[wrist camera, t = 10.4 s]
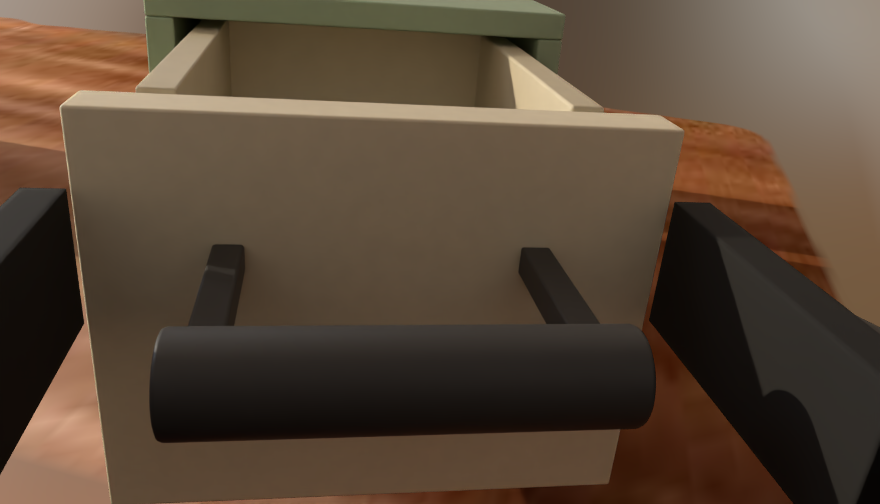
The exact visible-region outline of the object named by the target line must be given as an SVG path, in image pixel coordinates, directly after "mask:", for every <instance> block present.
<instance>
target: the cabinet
mask: <svg viewBox="0 0 880 504" xmlns="http://www.w3.org/2000/svg"><path fill="white" fill-rule="evenodd" d="M144 12H145V15H147V16H146V17H145V25H146V38H147V50H148V63H149V73H150V72H151V71H152V70H153V69H154V68H155V67H156V66H157V65H158V64H159V63H160V62H161V61H162V60H163V59H164V58H165V57H166V56H167V55H168V54H169V53H170V52H171V51H172V50H173V49H174V48H175V47H176V46H177V45H178V44H179V43H180V42H181V41H182V40H183V39H184V38H185V37H186V36H187V35H188V34H189V33H190V32H191V31H192V30H193V29H194V28H195V27H196V26H197V25H198V24H199V23H200V22H201V21H202V20H203V19H210V20H227V21H244V22H261V23H278V24H294V25H311V26H328V27H345V28H362V29H379V30H396V31H413V32H429V33H446V34H463V35H480V36H497V37H505V38H506V39H508V40H509V41H510V42H512V43H513V44H515V45H516V46H517V47H519V48H520V49H522V50H523V51H524V52H526V53H527V54H529V55H530V56H531V57H533V58H534V59H536V60H537V61H539V62H540V63H541V64H543V65H544V66H546V67H547V68H548V69H550V70H551V71H553V72H554V73H555V74H557V73H558V66H559V58H560V51H561V44H562V42H561V41H560V40H561V39H562V37H563V30H564V22H565V15H564V14H562V13H560V12H558V11H556V10H553V9H551V8H549V7H547V6H544V5H542V4H540V3H537V2H535V1H533V0H144Z"/></svg>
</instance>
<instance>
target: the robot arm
mask: <svg viewBox="0 0 880 504" xmlns="http://www.w3.org/2000/svg"><path fill="white" fill-rule="evenodd" d="M649 321H650V322H651V323H652V325H653V326H654V327H655V328H656V330H657V331H658V332H659V333H660V335H661V336H662V337H663V339H664V340H665V341H666V342H667V344H668V345H669V346H670V347H671V349H672V350H673V351H674V352H675V354H676V355H677V356H678V358H679V359H680V360H681V361H682V363H683V364H684V365H685V366H686V368H687V369H688V370H689V372H690V373H691V374H692V375H693V377H694V378H695V379H696V380H697V382H698V383H699V384H700V385H701V387H702V388H703V389H704V391H705V392H706V393H707V394H708V396H709V397H710V398H711V399H712V401H713V402H714V403H715V405H716V406H717V407H718V408H719V410H720V411H721V412H722V413H723V415H724V416H725V417H726V419H727V420H728V421H729V422H730V424H731V425H732V426H733V427H734V429H735V430H736V431H737V432H738V434H739V435H740V436H741V438H742V439H743V440H744V441H745V443H746V444H747V445H748V446H749V448H750V449H751V450H752V452H753V453H754V454H755V455H756V457H757V458H758V459H759V460H760V462H761V463H762V464H763V466H764V467H765V468H766V469H767V471H768V472H769V473H770V474H771V476H772V477H773V478H774V479H775V481H776V482H777V483H778V485H779V486H780V487H781V488H782V490H783V491H784V492H785V493H786V495H787V496H788V497H789V499H790V500H791V501H792V502H793V504H880V327H878V326H876V325H874V324H872V323H870V322H868V321H866V320H864V319H862V318H860V317H858V316H856V315H854V314H853V313H852V312H851V311H849V310H848V309H847V308H845V307H844V306H843V305H842V304H840V303H839V302H838V301H836V300H835V299H834V298H833V297H831V296H830V295H829V294H827V293H826V292H825V291H823V290H822V289H821V288H820V287H818V286H817V285H816V284H814V283H813V282H812V281H810V280H809V279H808V278H807V277H805V276H804V275H803V274H801V273H800V272H799V271H798V270H796V269H795V268H794V267H792V266H791V265H790V264H788V263H787V262H786V261H785V260H783V259H782V258H781V257H779V256H778V255H777V254H775V253H774V252H773V251H772V250H770V249H769V248H768V247H766V246H765V245H764V244H762V243H761V242H760V241H759V240H757V239H756V238H755V237H753V236H752V235H751V234H750V233H748V232H747V231H746V230H744V229H743V228H742V227H740V226H739V225H738V224H737V223H735V222H734V221H733V220H731V219H730V218H729V217H727V216H726V215H725V214H724V213H722V212H721V211H720V210H718V209H717V208H716V207H715V206H713V205H712V204H711V203H695V202H675V203H674V208H673V213H672V217H671V222H670V226H669V231H668V236H667V240H666V245H665V249H664V254H663V258H662V263H661V268H660V272H659V277H658V281H657V286H656V291H655V295H654V300H653V304H652V309H651V314H650V318H649ZM83 324H84V319H83V311H82V304H81V296H80V289H79V281H78V274H77V266H76V259H75V251H74V244H73V237H72V229H71V222H70V214H69V207H68V199H67V192H66V189H52V188H19V189H18V190H17V191H16V192H15V193H14V194H13V195H12V196H11V197H10V198H9V199H8V200H7V201H6V202H5V203H3V204H2V205H1V206H0V474H1V472H2V470H3V469H4V466H5V465H6V463H7V461H8V460H9V458H10V456H11V454H12V452H13V451H14V449H15V447H16V445H17V443H18V442H19V440H20V438H21V436H22V434H23V433H24V431H25V429H26V427H27V425H28V423H29V422H30V420H31V418H32V416H33V414H34V413H35V411H36V409H37V407H38V405H39V404H40V402H41V400H42V398H43V396H44V395H45V393H46V391H47V389H48V387H49V386H50V384H51V382H52V380H53V378H54V377H55V375H56V373H57V371H58V369H59V368H60V366H61V364H62V362H63V360H64V359H65V357H66V355H67V353H68V351H69V350H70V348H71V346H72V344H73V342H74V341H75V339H76V337H77V335H78V333H79V332H80V330H81V328H82V326H83Z"/></svg>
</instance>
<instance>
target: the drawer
mask: <svg viewBox="0 0 880 504" xmlns="http://www.w3.org/2000/svg"><path fill="white" fill-rule="evenodd" d="M60 114H61V121H62V129H63V137H64V145H65V152H66V160H67V168H68V176H69V183H70V191H71V199H72V207H73V214H74V222H75V230H76V238H77V245H78V253H79V261H80V268H81V276H82V284H83V292H84V299H85V307H86V315H87V323H88V330H89V338H90V346H91V354H92V361H93V369H94V377H95V385H96V392H97V400H98V408H99V416H100V423H101V431H102V439H103V447H104V454H105V462H106V470H107V477H108V485H109V493H110V500H111V504H157V503H180V502H203V501H227V500H250V499H273V498H296V497H320V496H343V495H366V494H389V493H412V492H436V491H459V490H482V489H505V488H529V487H552V486H575V485H598V484H608V483H609V479H610V475H611V470H612V466H613V461H614V456H615V452H616V447H617V442H618V438H619V433H620V429H637V428H639V427H641V426H643V425H644V424H645V423H646V422H647V421H648V419H649V417H650V415H651V412H652V409H653V406H654V401H655V393H656V373H655V365H654V359H653V355H652V351H651V348H650V345H649V342H648V340H647V338H646V336H645V335H644V333H643V332H642V326H643V322H644V317H645V313H646V308H647V303H648V299H649V294H650V289H651V285H652V280H653V275H654V271H655V266H656V262H657V257H658V252H659V248H660V243H661V238H662V234H663V229H664V225H665V220H666V215H667V211H668V206H669V201H670V197H671V192H672V187H673V183H674V178H675V174H676V169H677V164H678V160H679V155H680V150H681V146H682V141H683V136H684V130H683V129H681V128H679V127H678V126H676V125H675V124H673V123H671V122H670V121H668V120H666V119H665V118H663V117H662V116H660V115H642V114H619V113H604V109H603V107H602V106H600V105H599V104H597V103H596V102H595V101H593V100H591V99H590V98H589V97H588V96H586V95H585V94H583V93H582V92H581V91H579V90H578V89H576V88H575V87H574V86H572V85H571V84H569V83H568V82H566V81H565V80H564V79H562V78H561V77H560V76H558V75H557V74H555V73H554V72H553V71H551V70H550V69H548V68H547V67H546V66H544V65H543V64H541V63H540V62H539V61H537V60H536V59H534V58H533V57H531V56H530V55H529V54H527V53H526V52H524V51H523V50H522V49H520V48H519V47H517V46H516V45H515V44H513V43H512V42H510V41H509V40H508V39H506V38H505V37H497V36H480V35H463V34H446V33H429V32H413V31H396V30H379V29H362V28H345V27H328V26H311V25H294V24H278V23H261V22H244V21H227V20H210V19H203V20H202V21H201V22H200V23H199V24H198V25H197V26H196V27H195V28H194V29H193V30H192V31H191V32H190V33H189V34H188V35H187V36H186V37H185V38H184V39H183V40H182V41H181V42H180V43H179V44H178V45H177V46H176V47H175V48H174V49H173V50H172V51H171V52H170V53H169V54H168V55H167V56H166V57H165V58H164V59H163V60H162V61H161V62H160V63H159V64H158V65H157V66H156V67H155V68H154V69H153V70H152V71H151V72H150V73H149V74H148V75H147V76H146V77H145V78H144V79H143V80H142V81H141V82H140V84H139V85H138V86H137V87H136V93H130V92H107V91H84V90H81V91H78V92H77V93H76V94H74V95H73V96H72V97H71V98H69V99H68V100H67V101H66V102H64V103H63V104H62V105H61V106H60Z"/></svg>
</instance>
